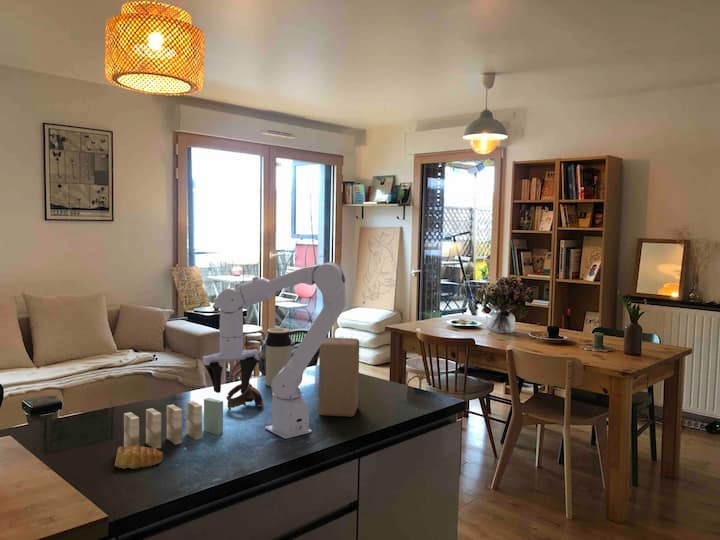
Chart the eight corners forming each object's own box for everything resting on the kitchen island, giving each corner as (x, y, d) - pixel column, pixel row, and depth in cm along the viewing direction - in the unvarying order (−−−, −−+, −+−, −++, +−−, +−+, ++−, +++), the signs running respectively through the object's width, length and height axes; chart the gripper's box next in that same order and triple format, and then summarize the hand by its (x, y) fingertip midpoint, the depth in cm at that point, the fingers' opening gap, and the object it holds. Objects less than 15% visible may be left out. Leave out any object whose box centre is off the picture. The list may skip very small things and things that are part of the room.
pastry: (163, 456, 130) (163, 439, 129) (161, 468, 123) (161, 450, 123) (118, 459, 127) (118, 442, 127) (113, 472, 121) (113, 454, 120)
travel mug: (267, 388, 185) (267, 332, 184) (264, 382, 193) (264, 327, 192) (292, 387, 188) (292, 331, 186) (288, 380, 195) (289, 327, 194)
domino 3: (182, 442, 137) (181, 409, 137) (175, 444, 136) (175, 410, 136) (173, 437, 141) (173, 404, 140) (166, 438, 140) (166, 405, 139)
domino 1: (139, 452, 131) (139, 417, 130) (131, 454, 130) (131, 419, 129) (131, 446, 134) (130, 412, 134) (124, 447, 133) (123, 413, 133)
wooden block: (358, 407, 168) (359, 338, 166) (354, 418, 158) (356, 344, 157) (323, 405, 169) (324, 336, 167) (317, 416, 159) (319, 343, 158)
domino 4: (201, 438, 140) (202, 405, 140) (195, 439, 139) (195, 406, 139) (192, 432, 144) (192, 400, 144) (186, 434, 143) (186, 401, 143)
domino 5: (222, 433, 144) (223, 401, 144) (218, 434, 143) (218, 402, 142) (208, 429, 147) (208, 397, 146) (203, 430, 146) (204, 399, 145)
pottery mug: (266, 415, 160) (252, 392, 158) (235, 429, 161) (220, 406, 158) (267, 392, 172) (254, 370, 169) (238, 406, 172) (224, 384, 169)
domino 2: (161, 447, 134) (161, 413, 133) (154, 449, 133) (154, 414, 132) (152, 441, 138) (152, 408, 137) (145, 443, 137) (145, 409, 136)
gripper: (249, 330, 154) (248, 381, 155) (197, 336, 145) (197, 390, 146) (262, 334, 149) (262, 387, 150) (209, 340, 140) (209, 397, 141)
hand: (231, 389), depth 148 cm, fingers open, 7 cm apart
